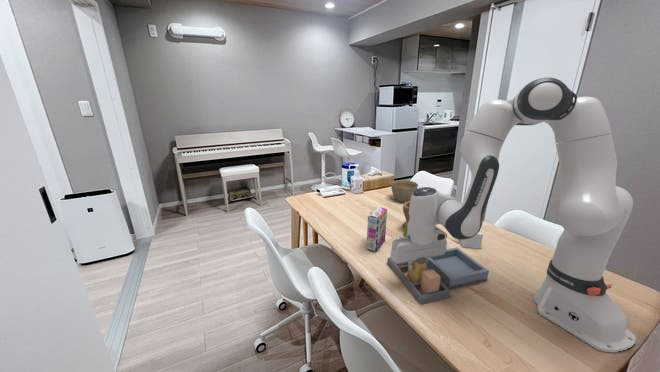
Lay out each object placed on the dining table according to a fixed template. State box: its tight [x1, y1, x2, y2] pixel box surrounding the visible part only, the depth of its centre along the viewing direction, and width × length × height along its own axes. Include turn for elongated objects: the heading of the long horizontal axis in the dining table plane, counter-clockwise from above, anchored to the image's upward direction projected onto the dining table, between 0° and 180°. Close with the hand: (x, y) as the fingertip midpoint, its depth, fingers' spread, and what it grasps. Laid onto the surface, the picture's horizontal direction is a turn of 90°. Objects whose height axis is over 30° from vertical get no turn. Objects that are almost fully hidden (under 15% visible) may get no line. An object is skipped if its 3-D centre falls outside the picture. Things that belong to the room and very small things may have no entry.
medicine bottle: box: [458, 230, 484, 250], centre depth 116 cm, size 7×7×12 cm
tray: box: [426, 247, 490, 290], centre depth 100 cm, size 16×16×4 cm
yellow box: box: [407, 257, 427, 283], centre depth 95 cm, size 6×3×10 cm, turn 16°
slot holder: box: [386, 257, 452, 305], centre depth 96 cm, size 23×11×2 cm, turn 15°
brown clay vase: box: [401, 201, 410, 229], centre depth 127 cm, size 15×12×15 cm
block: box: [419, 269, 441, 295], centre depth 88 cm, size 4×4×8 cm
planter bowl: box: [390, 179, 419, 204], centre depth 166 cm, size 16×16×11 cm
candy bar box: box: [366, 206, 388, 253], centre depth 116 cm, size 11×5×16 cm, turn 149°
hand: (416, 268), depth 95 cm, fingers closed on yellow box, 3 cm apart
